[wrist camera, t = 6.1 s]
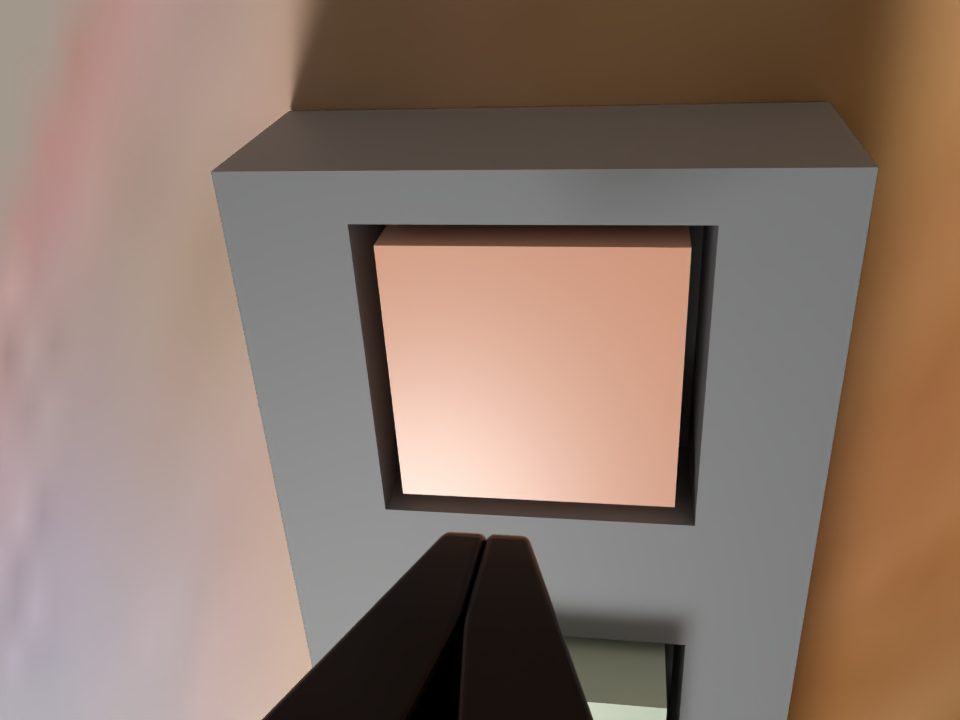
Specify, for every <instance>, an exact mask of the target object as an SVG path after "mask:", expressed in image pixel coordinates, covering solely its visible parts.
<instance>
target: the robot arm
mask: <svg viewBox="0 0 960 720" xmlns="http://www.w3.org/2000/svg"><path fill="white" fill-rule="evenodd" d="M262 720H593V717H592V714H591V711H590V708H589V705H588V703H587V700H586V697H585V694H584V691H583V689H582V686H581V683H580V680H579V677H578V675H577V672H576V669H575V666H574V663H573V660H572V658H571V655H570V652H569V649H568V646H567V644H566V641H565V638H564V635H563V632H562V630H561V627H560V624H559V621H558V618H557V615H556V613H555V610H554V607H553V604H552V601H551V599H550V596H549V593H548V590H547V587H546V584H545V582H544V579H543V576H542V573H541V570H540V568H539V565H538V562H537V559H536V556H535V554H534V551H533V548H532V545H531V542H530V541H529V539H528V538H527V537H525V536H519V535H502V534H492V535H490V536H489V537H488V538H487V539H486V537H485V536H484V535H483V534H480V533H466V532H447V533H445V534H443V535H442V536H441V537H440V538H439V539H438V540H437V541H436V542H435V543H434V544H433V545H432V546H431V547H430V548H429V549H428V550H427V551H426V552H425V553H424V554H423V555H422V556H421V557H420V559H419V560H418V561H417V562H416V563H415V564H414V565H413V566H412V567H411V568H410V569H409V570H408V571H407V572H406V573H405V574H404V575H403V576H402V577H401V578H400V579H399V580H398V581H397V582H396V583H395V584H394V585H393V586H392V587H391V588H390V589H389V590H388V591H387V592H386V593H385V594H384V595H383V596H382V597H381V598H380V599H379V600H378V601H377V602H376V604H375V605H374V606H373V607H372V608H371V609H370V610H369V611H368V612H367V613H366V614H365V615H364V616H363V617H362V618H361V619H360V620H359V621H358V622H357V623H356V624H355V625H354V626H353V627H352V628H351V629H350V630H349V631H348V632H347V633H346V634H345V635H344V636H343V637H342V638H341V639H340V640H339V641H338V642H337V643H336V644H335V645H334V646H333V647H332V649H331V650H330V651H329V652H328V653H327V654H326V655H325V656H324V657H323V658H322V659H321V660H320V661H319V662H318V663H317V664H316V665H315V666H314V667H313V668H312V669H311V670H310V671H309V672H308V673H307V674H306V675H305V676H304V677H303V678H302V679H301V680H300V681H299V682H298V683H297V684H296V685H295V686H294V687H293V688H292V689H291V690H290V691H289V692H288V694H287V695H286V696H285V697H284V698H283V699H282V700H281V701H280V702H279V703H278V704H277V705H276V706H275V707H274V708H273V709H272V710H271V711H270V712H269V713H268V714H267V715H266V716H265V717H264V718H263V719H262Z"/></svg>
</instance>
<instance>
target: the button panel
mask: <svg viewBox="0 0 960 720" xmlns="http://www.w3.org/2000/svg"><path fill="white" fill-rule="evenodd" d="M877 173H878V166H877V165H876V164H875V162H874V161H873V160H872V158H871V157H870V156H869V154H868V153H867V151H866V150H865V149H864V147H863V146H862V145H861V143H860V142H859V141H858V139H857V138H856V137H855V135H854V134H853V133H852V131H851V130H850V129H849V127H848V126H847V125H846V123H845V122H844V121H843V119H842V118H841V117H840V115H839V114H838V113H837V111H836V110H835V108H834V107H833V106H832V104H831V103H830V102H791V103H733V104H675V105H617V106H559V107H501V108H443V109H384V110H326V111H289V112H287V113H286V114H285V115H283V116H282V117H281V118H280V119H278V120H277V121H276V122H274V123H273V124H272V125H271V126H269V127H268V128H267V129H265V130H264V131H263V132H262V133H260V134H259V135H258V136H256V137H255V138H254V139H253V140H251V141H250V142H249V143H247V144H246V145H245V146H244V147H242V148H241V149H240V150H238V151H237V152H236V153H235V154H233V155H232V156H231V157H229V158H228V159H227V160H226V161H224V162H223V163H222V164H220V165H219V166H218V167H217V168H215V169H214V170H213V171H211V174H212V179H213V183H214V188H215V193H216V198H217V203H218V208H219V213H220V218H221V223H222V227H223V232H224V237H225V242H226V247H227V252H228V257H229V262H230V267H231V271H232V276H233V281H234V286H235V291H236V296H237V301H238V306H239V311H240V315H241V320H242V325H243V330H244V335H245V340H246V345H247V350H248V355H249V360H250V364H251V369H252V374H253V379H254V384H255V389H256V394H257V399H258V404H259V408H260V413H261V418H262V423H263V428H264V433H265V438H266V443H267V448H268V452H269V457H270V462H271V467H272V472H273V477H274V482H275V487H276V492H277V496H278V501H279V506H280V511H281V516H282V521H283V526H284V531H285V536H286V541H287V545H288V550H289V555H290V560H291V565H292V570H293V575H294V580H295V585H296V589H297V594H298V599H299V604H300V609H301V614H302V619H303V624H304V629H305V633H306V638H307V643H308V648H309V653H310V658H311V663H312V668H313V667H314V666H315V665H316V664H317V663H318V662H319V661H320V660H321V659H322V658H323V657H324V656H325V655H326V654H327V653H328V652H329V651H330V650H331V649H332V647H333V646H334V645H335V644H336V643H337V642H338V641H339V640H340V639H341V638H342V637H343V636H344V635H345V634H346V633H347V632H348V631H349V630H350V629H351V628H352V627H353V626H354V625H355V624H356V623H357V622H358V621H359V620H360V619H361V618H362V617H363V616H364V615H365V614H366V613H367V612H368V611H369V610H370V609H371V608H372V607H373V606H374V605H375V604H376V602H377V601H378V600H379V599H380V598H381V597H382V596H383V595H384V594H385V593H386V592H387V591H388V590H389V589H390V588H391V587H392V586H393V585H394V584H395V583H396V582H397V581H398V580H399V579H400V578H401V577H402V576H403V575H404V574H405V573H406V572H407V571H408V570H409V569H410V568H411V567H412V566H413V565H414V564H415V563H416V562H417V561H418V560H419V559H420V557H421V556H422V555H423V554H424V553H425V552H426V551H427V550H428V549H429V548H430V547H431V546H432V545H433V544H434V543H435V542H436V541H437V540H438V539H439V538H440V537H441V536H442V535H443V534H445V533H447V532H466V533H480V534H483V535H484V536H485V537H486V539H487V538H488V537H489V536H490V535H492V534H502V535H519V536H525V537H527V538H528V539H529V541H530V542H531V545H532V548H533V551H534V554H535V556H536V559H537V562H538V565H539V568H540V570H541V573H542V576H543V579H544V582H545V584H546V587H547V590H548V593H549V596H550V599H551V601H552V604H553V607H554V610H555V613H556V615H557V618H558V621H559V624H560V627H561V630H562V632H563V635H564V636H569V637H582V638H596V639H610V640H623V641H637V642H651V643H664V644H665V669H666V697H667V715H666V720H787V716H788V710H789V704H790V698H791V692H792V686H793V680H794V674H795V668H796V662H797V656H798V650H799V644H800V638H801V632H802V626H803V620H804V614H805V608H806V602H807V596H808V589H809V583H810V577H811V571H812V565H813V559H814V553H815V547H816V541H817V535H818V529H819V523H820V517H821V511H822V505H823V499H824V493H825V487H826V481H827V475H828V469H829V463H830V457H831V451H832V444H833V438H834V432H835V426H836V420H837V414H838V408H839V402H840V396H841V390H842V384H843V378H844V372H845V366H846V360H847V354H848V348H849V342H850V336H851V330H852V324H853V318H854V312H855V305H856V299H857V293H858V287H859V281H860V275H861V269H862V263H863V257H864V251H865V245H866V239H867V233H868V227H869V221H870V215H871V209H872V203H873V197H874V191H875V185H876V179H877ZM387 224H412V225H688V226H689V233H690V240H691V263H690V279H689V294H688V310H687V325H686V340H685V356H684V371H683V387H682V402H681V417H680V433H679V448H678V464H677V479H676V494H675V507H661V506H641V505H621V504H601V503H581V502H561V501H541V500H521V499H502V498H482V497H462V496H442V495H422V494H403V488H402V480H401V471H400V463H399V455H398V446H397V438H396V429H395V421H394V413H393V404H392V396H391V387H390V379H389V371H388V362H387V354H386V345H385V337H384V329H383V320H382V312H381V303H380V295H379V287H378V278H377V270H376V261H375V253H374V244H375V243H376V241H377V240H378V238H379V237H380V235H381V233H382V232H383V230H384V229H385V227H386V226H387Z"/></svg>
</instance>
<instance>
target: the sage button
mask: <svg viewBox="0 0 960 720" xmlns="http://www.w3.org/2000/svg"><path fill="white" fill-rule="evenodd" d="M564 638H565V641H566V644H567V646H568V649H569V652H570V655H571V658H572V660H573V663H574V666H575V669H576V672H577V675H578V677H579V680H580V683H581V686H582V689H583V691H584V694H585V697H586V700H587V703H588V705H589V708H590V711H591V714H592V717H593V720H666V715H667V697H666V669H665V644H664V643H651V642H637V641H623V640H610V639H596V638H582V637H569V636H564Z"/></svg>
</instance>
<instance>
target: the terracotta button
mask: <svg viewBox="0 0 960 720" xmlns="http://www.w3.org/2000/svg"><path fill="white" fill-rule="evenodd" d="M374 253H375V261H376V270H377V278H378V287H379V295H380V303H381V312H382V320H383V329H384V337H385V345H386V354H387V362H388V371H389V379H390V387H391V396H392V404H393V413H394V421H395V429H396V438H397V446H398V455H399V463H400V471H401V480H402V488H403V494H422V495H442V496H462V497H482V498H502V499H521V500H541V501H561V502H581V503H601V504H621V505H641V506H661V507H675V494H676V479H677V464H678V448H679V433H680V417H681V402H682V387H683V371H684V356H685V340H686V325H687V310H688V294H689V279H690V263H691V240H690V233H689V226H688V225H412V224H387V226H386V227H385V229H384V230H383V232H382V233H381V235H380V237H379V238H378V240H377V241H376V243H375V244H374Z"/></svg>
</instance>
